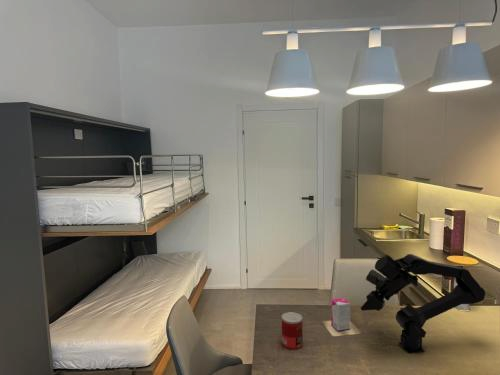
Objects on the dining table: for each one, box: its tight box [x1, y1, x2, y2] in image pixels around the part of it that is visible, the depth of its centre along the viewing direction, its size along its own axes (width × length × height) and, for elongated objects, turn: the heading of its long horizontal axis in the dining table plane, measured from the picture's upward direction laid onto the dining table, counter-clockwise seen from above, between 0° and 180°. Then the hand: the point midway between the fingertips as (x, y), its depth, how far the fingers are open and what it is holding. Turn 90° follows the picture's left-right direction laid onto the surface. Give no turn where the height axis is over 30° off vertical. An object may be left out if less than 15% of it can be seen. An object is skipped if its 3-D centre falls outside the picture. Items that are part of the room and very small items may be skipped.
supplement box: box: [330, 297, 351, 332], centre depth 140 cm, size 6×6×12 cm
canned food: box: [281, 312, 304, 350], centre depth 129 cm, size 8×8×11 cm
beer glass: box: [453, 278, 471, 311], centre depth 154 cm, size 7×7×15 cm
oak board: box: [322, 320, 362, 337], centre depth 141 cm, size 12×12×1 cm
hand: (364, 304), depth 132 cm, fingers open, 9 cm apart
